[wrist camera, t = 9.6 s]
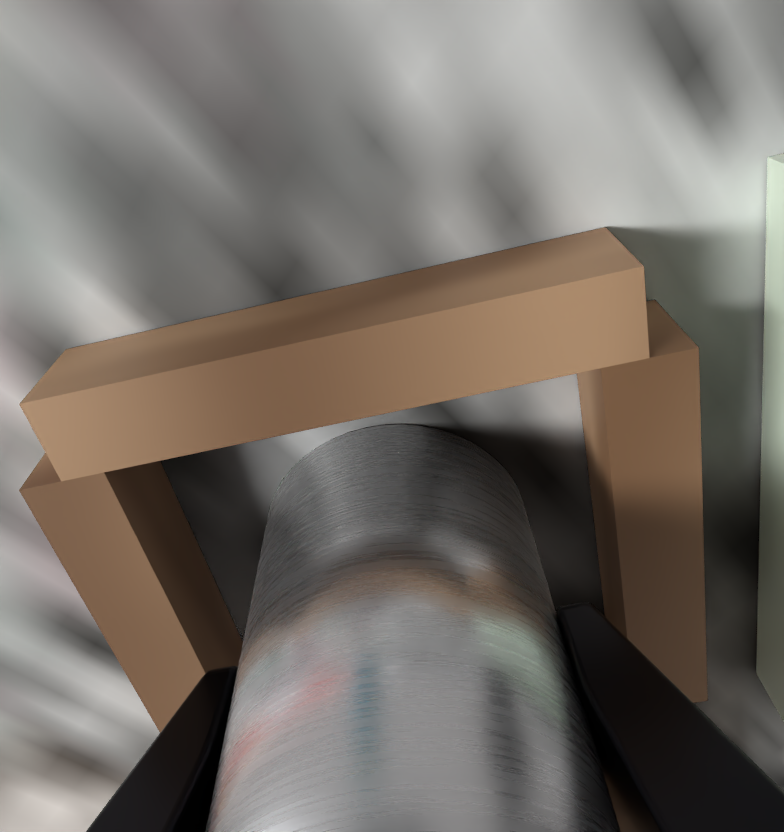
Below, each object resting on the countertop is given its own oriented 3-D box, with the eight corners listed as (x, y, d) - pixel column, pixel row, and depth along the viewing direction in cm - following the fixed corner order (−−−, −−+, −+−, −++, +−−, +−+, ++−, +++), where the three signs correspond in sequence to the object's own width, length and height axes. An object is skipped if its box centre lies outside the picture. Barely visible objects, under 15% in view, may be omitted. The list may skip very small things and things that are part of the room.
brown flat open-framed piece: (649, 217, 9) (761, 306, 7) (691, 951, 18) (745, 1114, 15) (27, 358, 10) (-96, 489, 7) (359, 997, 19) (357, 1160, 16)
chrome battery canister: (505, 398, 10) (833, 1396, 3) (541, 606, 12) (795, 1523, 5) (230, 456, 11) (-79, 1473, 3) (307, 648, 13) (219, 1563, 5)
